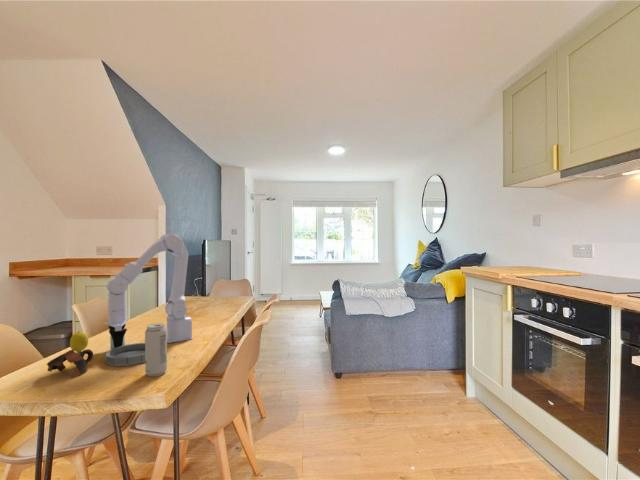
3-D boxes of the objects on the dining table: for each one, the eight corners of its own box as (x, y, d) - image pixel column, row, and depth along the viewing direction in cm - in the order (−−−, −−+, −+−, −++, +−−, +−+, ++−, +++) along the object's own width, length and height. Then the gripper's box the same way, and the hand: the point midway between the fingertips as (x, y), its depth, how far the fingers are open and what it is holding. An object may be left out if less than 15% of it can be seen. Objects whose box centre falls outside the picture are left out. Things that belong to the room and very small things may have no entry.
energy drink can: (150, 369, 105) (150, 323, 105) (170, 369, 106) (169, 322, 106) (141, 377, 99) (141, 328, 99) (162, 377, 100) (161, 327, 100)
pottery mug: (64, 383, 97) (49, 360, 97) (52, 391, 101) (38, 368, 101) (104, 360, 107) (90, 338, 107) (91, 367, 112) (78, 347, 112)
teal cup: (124, 347, 127) (124, 332, 127) (125, 351, 123) (125, 335, 123) (110, 350, 125) (110, 334, 125) (110, 353, 121) (110, 337, 121)
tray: (154, 347, 127) (154, 340, 127) (160, 359, 114) (160, 351, 114) (105, 355, 118) (105, 348, 118) (106, 370, 105) (105, 361, 105)
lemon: (78, 355, 119) (78, 333, 119) (66, 354, 120) (65, 332, 120) (92, 350, 124) (91, 329, 124) (79, 349, 126) (79, 328, 126)
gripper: (104, 307, 128) (104, 342, 128) (104, 314, 116) (105, 353, 116) (125, 305, 132) (125, 339, 132) (128, 312, 120) (128, 349, 120)
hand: (117, 345), depth 124 cm, fingers open, 6 cm apart
